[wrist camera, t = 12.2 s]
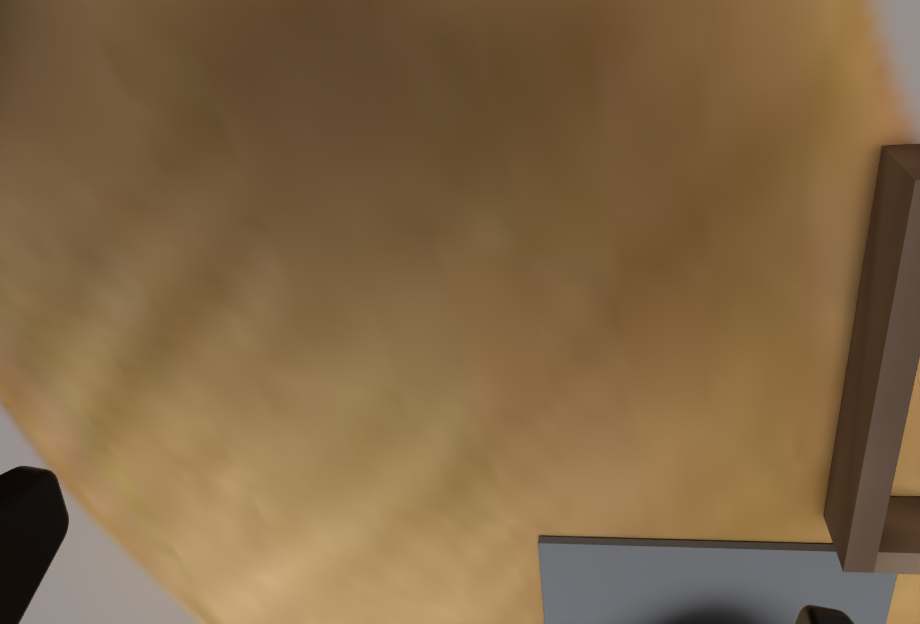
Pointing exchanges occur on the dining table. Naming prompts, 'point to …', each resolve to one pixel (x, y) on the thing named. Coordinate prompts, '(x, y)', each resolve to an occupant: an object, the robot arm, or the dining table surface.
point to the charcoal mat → (701, 582)
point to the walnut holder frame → (881, 383)
